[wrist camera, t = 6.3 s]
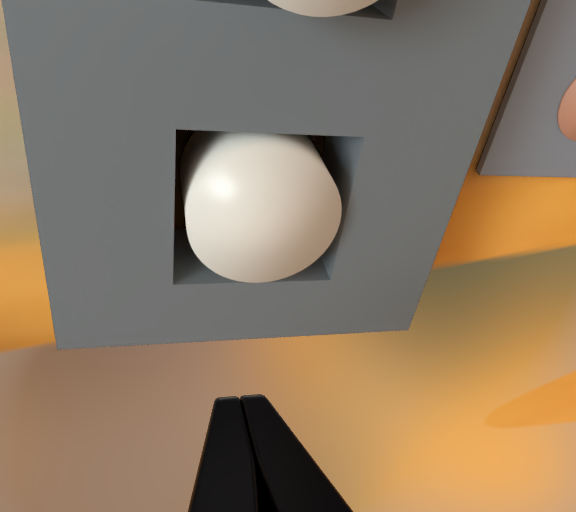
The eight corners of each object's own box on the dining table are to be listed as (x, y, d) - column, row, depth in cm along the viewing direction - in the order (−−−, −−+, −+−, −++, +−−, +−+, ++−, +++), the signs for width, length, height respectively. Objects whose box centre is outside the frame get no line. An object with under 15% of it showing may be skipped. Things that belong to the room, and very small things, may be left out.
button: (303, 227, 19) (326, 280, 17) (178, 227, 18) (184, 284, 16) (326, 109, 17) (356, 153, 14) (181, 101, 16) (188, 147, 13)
